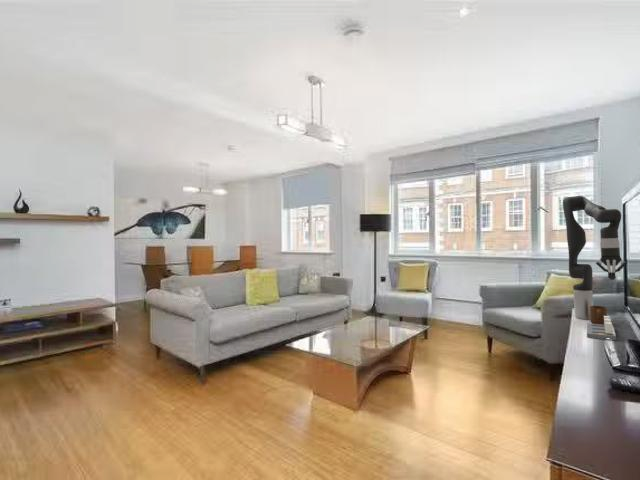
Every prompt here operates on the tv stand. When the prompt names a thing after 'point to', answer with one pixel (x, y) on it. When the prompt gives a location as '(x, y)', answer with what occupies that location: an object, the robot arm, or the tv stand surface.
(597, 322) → the mug
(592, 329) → the breaker panel
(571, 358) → the tv stand surface
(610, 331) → the block
